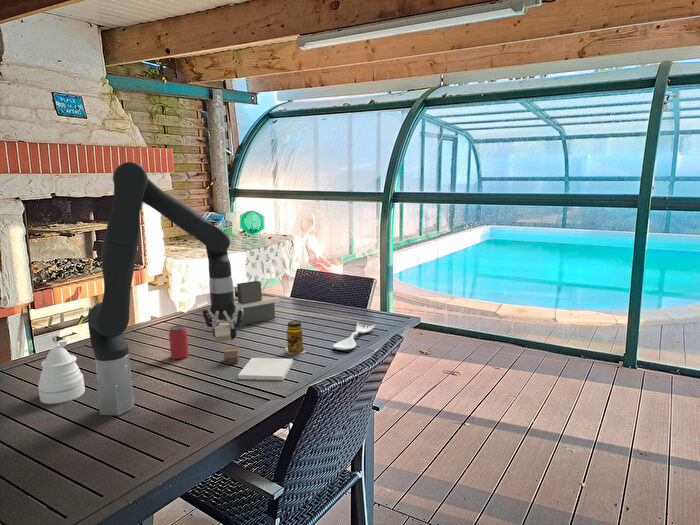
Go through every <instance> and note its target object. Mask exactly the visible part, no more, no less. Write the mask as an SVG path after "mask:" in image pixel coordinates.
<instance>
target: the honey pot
mask: <svg viewBox="0 0 700 525" xmlns="http://www.w3.org/2000/svg"><path fill="white" fill-rule="evenodd" d="M67 345H68V339H61V340H58V345H56V346H54V347H51V349H50V350H49V352H48V354H47V355H46V358H45V360H43V361H41V364H40V366H41V367H42V370H41V372H40V376H39V377H40V378H39V381H38V383H37V384H38V385H37V386H38V397H39V401H40V402H41V403H43V404H48V405H49V404H50V405H52V404H61V403H65V402H69V401H73V400H75V399H77V398H79V397H81V396H82V395H83V394H85V392H86V389H85V379H84V374H83V373H82V372H81V370H80V366H78V364H77V363H76V362H77V360H78V359H77V356H75V355H73V354H70V353H69V352H68V350H66V349H65V348H64V347H66V346H67Z"/></svg>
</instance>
